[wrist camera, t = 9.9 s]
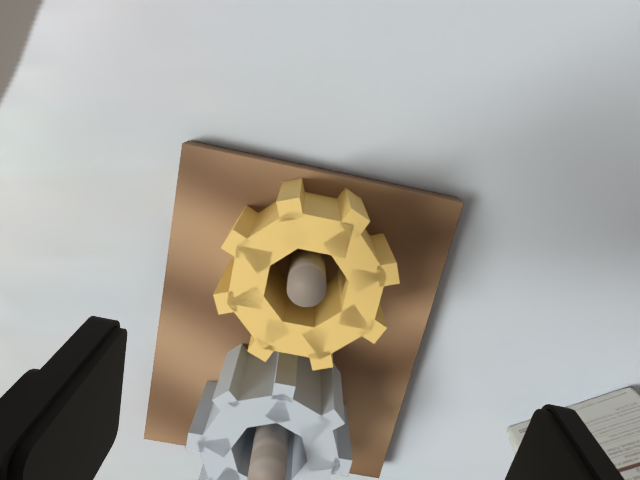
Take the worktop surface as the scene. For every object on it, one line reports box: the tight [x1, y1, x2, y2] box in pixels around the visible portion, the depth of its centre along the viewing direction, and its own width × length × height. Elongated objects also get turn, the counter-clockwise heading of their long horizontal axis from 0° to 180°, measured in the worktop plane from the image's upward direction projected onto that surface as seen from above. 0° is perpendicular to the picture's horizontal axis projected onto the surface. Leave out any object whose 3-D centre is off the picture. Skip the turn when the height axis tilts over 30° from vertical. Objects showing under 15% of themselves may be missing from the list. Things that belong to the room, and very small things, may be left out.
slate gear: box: [186, 344, 352, 480], centre depth 24 cm, size 7×7×4 cm
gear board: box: [144, 141, 463, 480], centre depth 23 cm, size 16×13×7 cm
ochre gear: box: [213, 178, 400, 371], centre depth 22 cm, size 7×7×4 cm
